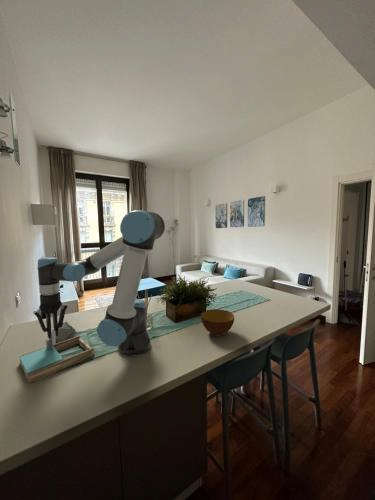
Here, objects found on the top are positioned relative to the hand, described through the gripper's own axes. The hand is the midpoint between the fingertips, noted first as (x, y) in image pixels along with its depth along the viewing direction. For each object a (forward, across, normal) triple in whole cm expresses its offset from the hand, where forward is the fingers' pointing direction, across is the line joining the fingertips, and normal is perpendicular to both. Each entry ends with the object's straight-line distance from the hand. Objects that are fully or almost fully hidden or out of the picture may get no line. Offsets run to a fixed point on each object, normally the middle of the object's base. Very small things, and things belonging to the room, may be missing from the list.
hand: (53, 343), depth 98 cm
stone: (+5, -7, -11) cm, 14 cm away
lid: (+2, +6, +5) cm, 8 cm away
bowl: (+5, -66, +42) cm, 79 cm away
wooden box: (+5, 0, +5) cm, 7 cm away
